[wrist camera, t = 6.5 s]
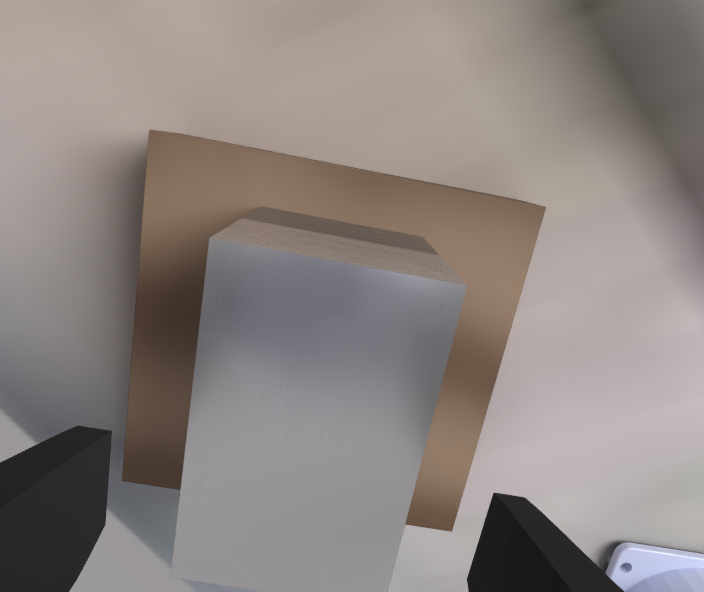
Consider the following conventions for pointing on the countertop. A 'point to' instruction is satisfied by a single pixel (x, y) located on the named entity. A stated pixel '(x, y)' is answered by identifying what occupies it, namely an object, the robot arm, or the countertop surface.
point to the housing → (310, 402)
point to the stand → (332, 203)
